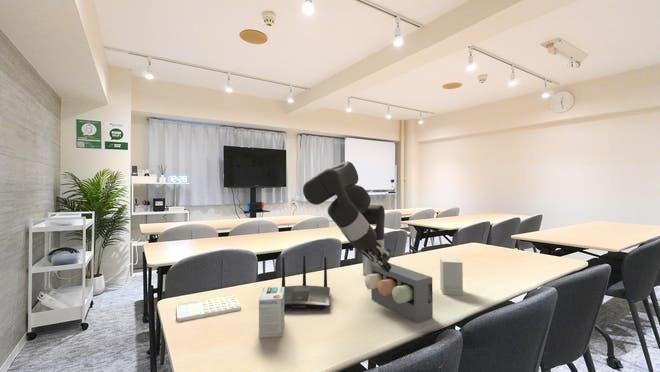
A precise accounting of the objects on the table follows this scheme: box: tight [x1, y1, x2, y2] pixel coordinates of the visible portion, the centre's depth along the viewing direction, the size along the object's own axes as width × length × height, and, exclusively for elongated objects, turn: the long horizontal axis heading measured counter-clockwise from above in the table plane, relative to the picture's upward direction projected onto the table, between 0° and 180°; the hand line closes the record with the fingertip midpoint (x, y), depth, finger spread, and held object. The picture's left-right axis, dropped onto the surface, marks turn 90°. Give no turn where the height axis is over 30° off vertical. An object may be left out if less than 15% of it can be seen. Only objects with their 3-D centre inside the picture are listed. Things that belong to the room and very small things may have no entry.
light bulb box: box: [258, 286, 285, 338], centre depth 90 cm, size 11×7×11 cm, turn 5°
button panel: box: [370, 262, 434, 324], centre depth 105 cm, size 7×23×13 cm, turn 29°
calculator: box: [176, 294, 242, 322], centre depth 105 cm, size 13×20×2 cm, turn 117°
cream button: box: [364, 273, 383, 290], centre depth 109 cm, size 5×5×5 cm
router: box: [281, 255, 331, 311], centre depth 112 cm, size 21×20×15 cm
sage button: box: [392, 284, 414, 304], centre depth 96 cm, size 5×5×5 cm
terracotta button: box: [378, 278, 397, 296], centre depth 102 cm, size 5×5×5 cm
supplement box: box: [439, 257, 464, 296], centre depth 120 cm, size 7×7×13 cm
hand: (388, 269), depth 91 cm, fingers closed
